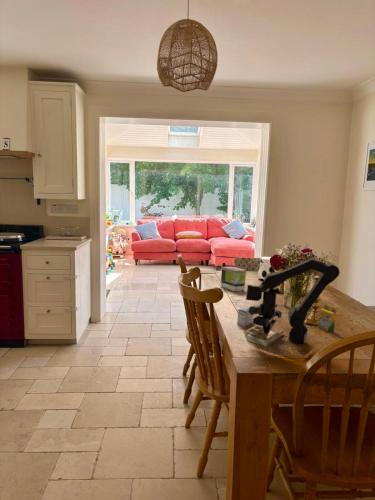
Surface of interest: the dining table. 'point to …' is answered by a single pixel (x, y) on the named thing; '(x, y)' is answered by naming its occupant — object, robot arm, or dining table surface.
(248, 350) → the dining table surface
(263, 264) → the milk container
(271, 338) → the trap tray
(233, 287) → the tea box
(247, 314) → the medicine box
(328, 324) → the crayon box
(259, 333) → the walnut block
